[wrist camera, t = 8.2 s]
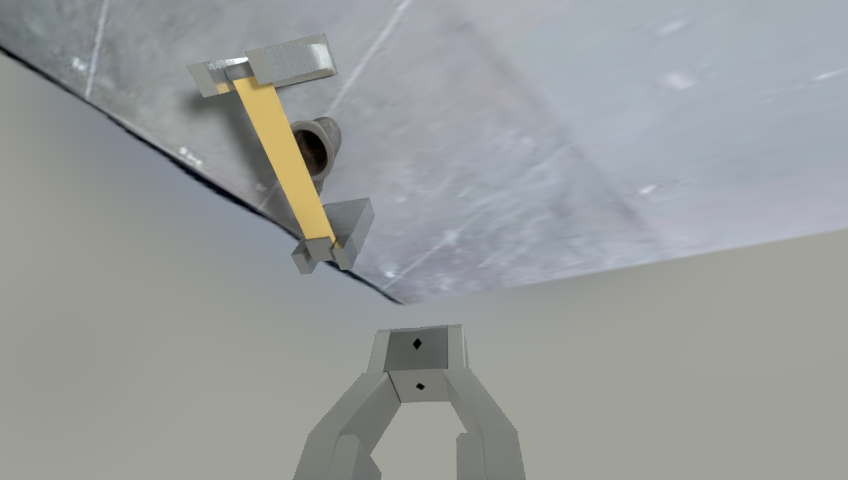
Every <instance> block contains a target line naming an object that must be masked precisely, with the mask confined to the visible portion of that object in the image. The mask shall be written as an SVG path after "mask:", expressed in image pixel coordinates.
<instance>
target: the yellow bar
mask: <svg viewBox="0 0 848 480" xmlns="http://www.w3.org/2000/svg"><path fill="white" fill-rule="evenodd" d="M225 72H226V75H227V77H228V79H229V80H230V81H231V82H232V83H234V85H235V87H236V89H237V91H238V93H239V95H240V97H241V100H242V102H243V104H244V106H245V108H246V110H247V113H248V115H249V117H250V119H251V121H252V123H253V125H254V128H255V130H256V132H257V134H258V136H259V138H260V141H261V143H262V145H263V147H264V149H265V151H266V153H267V156H268V158H269V160H270V162H271V164H272V166H273V168H274V171H275V173H276V175H277V177H278V179H279V181H280V184H281V186H282V188H283V190H284V192H285V194H286V196H287V199H288V201H289V203H290V205H291V207H292V209H293V211H294V214H295V216H296V218H297V220H298V222H299V224H300V227H301V229H302V231H303V233H304V235H305V237H306V240H305V244H306V246H307V249H308V251H309V253H310V255H311V257H312V259H313V261H314V262H320V261H328V260H336V258H335V256H334V253H333V251H332V249H333V247H334V245H335V244H336V242H337V241H336V239H335V236H334V234H333V232H332V229H331V227H330V224H329V222H328V219H327V217H326V214H325V212H324V209H323V207H322V204H321V202H320V199H319V197H318V195H317V192H316V190H315V187H314V185H313V182H312V180H311V177H310V175H309V172H308V170H307V167H306V165H305V162H304V160H303V157H302V155H301V153H300V150H299V148H298V145H297V143H296V140H295V138H294V135H293V133H292V130H291V128H290V125H289V123H288V120H287V118H286V116H285V113H284V111H283V108H282V106H281V103H280V101H279V98H278V96H277V93H276V91H275V88H274V86H273V83H272V82H270V83H266V84H261V85H259V84H258V81H257V79H256V77H255V75H254V72H253V70H252V68H251V66H250V63H249V61H246V62H242V63H238V64H234V65H230V66H226V67H225Z"/></svg>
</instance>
